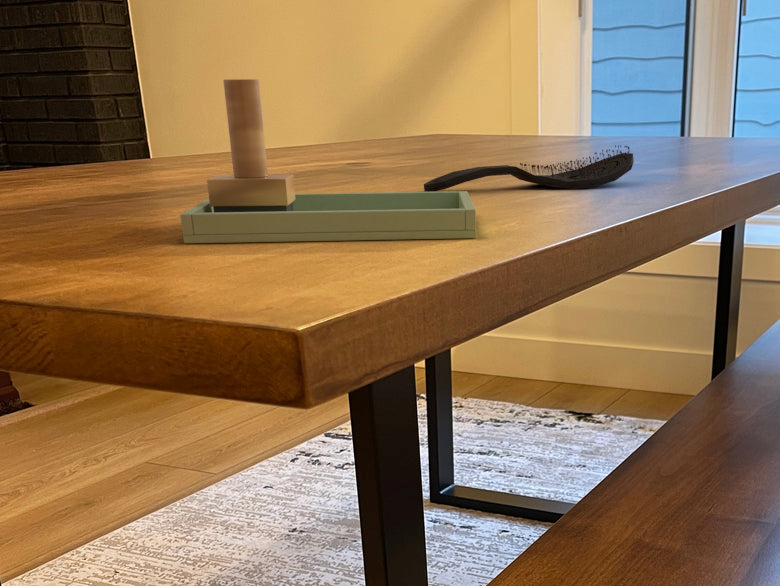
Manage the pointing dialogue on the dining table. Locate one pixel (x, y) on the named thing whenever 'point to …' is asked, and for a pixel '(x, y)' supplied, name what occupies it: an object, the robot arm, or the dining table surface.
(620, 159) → the hairbrush
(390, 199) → the tray
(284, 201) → the scrub brush
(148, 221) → the dining table surface
